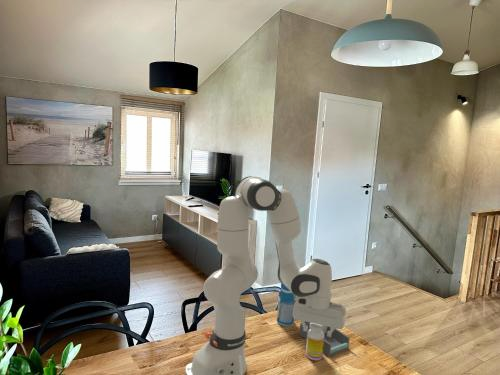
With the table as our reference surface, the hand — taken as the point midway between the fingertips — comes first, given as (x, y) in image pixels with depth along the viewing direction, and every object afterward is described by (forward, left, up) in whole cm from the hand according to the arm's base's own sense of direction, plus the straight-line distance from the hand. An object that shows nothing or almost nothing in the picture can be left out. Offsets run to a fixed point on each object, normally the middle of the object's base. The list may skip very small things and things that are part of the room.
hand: (317, 333), depth 134 cm
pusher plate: (+10, +10, -8) cm, 16 cm away
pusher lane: (+10, +6, -10) cm, 15 cm away
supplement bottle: (-1, 0, -10) cm, 10 cm away
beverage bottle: (+5, +26, -10) cm, 28 cm away
